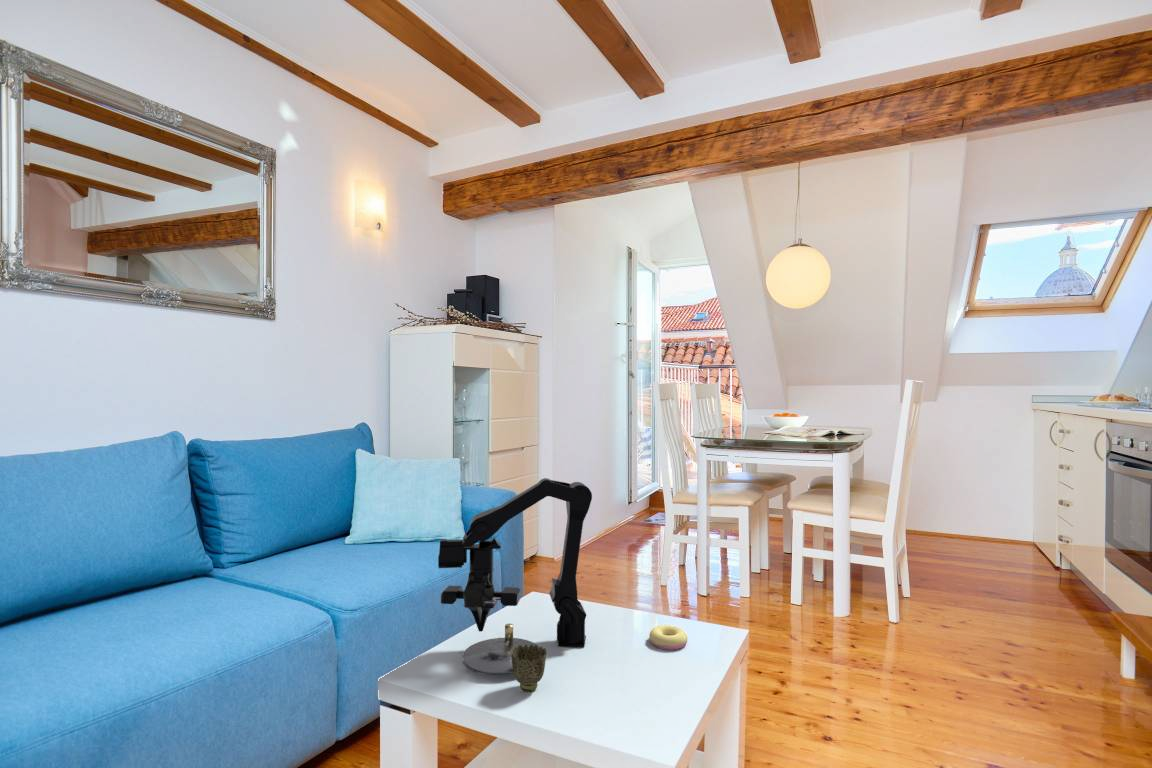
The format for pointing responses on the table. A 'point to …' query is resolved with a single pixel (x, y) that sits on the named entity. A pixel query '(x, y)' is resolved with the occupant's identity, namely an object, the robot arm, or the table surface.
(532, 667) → the cup
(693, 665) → the table surface
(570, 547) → the robot arm
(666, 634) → the donut
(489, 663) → the turntable
